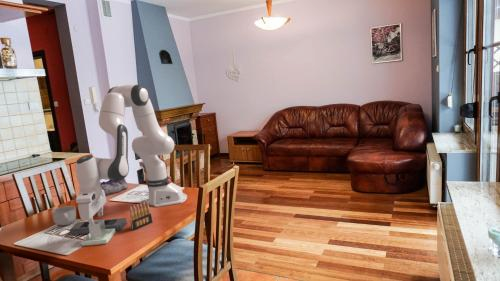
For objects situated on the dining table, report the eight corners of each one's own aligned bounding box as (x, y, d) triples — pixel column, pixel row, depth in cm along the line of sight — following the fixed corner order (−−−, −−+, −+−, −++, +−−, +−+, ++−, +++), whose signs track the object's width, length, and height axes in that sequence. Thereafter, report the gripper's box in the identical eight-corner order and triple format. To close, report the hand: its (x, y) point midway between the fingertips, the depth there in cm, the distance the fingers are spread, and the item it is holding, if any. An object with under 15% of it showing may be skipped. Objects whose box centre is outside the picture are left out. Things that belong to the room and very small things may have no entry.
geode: (122, 186, 232) (122, 172, 230) (130, 191, 224) (129, 177, 222) (92, 193, 218) (91, 179, 215) (99, 199, 210) (98, 185, 208)
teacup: (56, 221, 178) (53, 207, 177) (78, 217, 182) (76, 203, 181) (52, 232, 166) (49, 217, 164) (77, 226, 170) (74, 212, 168)
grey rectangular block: (106, 235, 157) (103, 217, 155) (102, 240, 152) (99, 222, 150) (95, 236, 157) (92, 218, 155) (91, 241, 152) (88, 223, 150)
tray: (115, 232, 160) (114, 228, 160) (106, 243, 149) (106, 239, 149) (92, 234, 160) (91, 230, 159) (81, 246, 149) (81, 242, 148)
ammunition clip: (133, 230, 160) (129, 207, 158) (131, 230, 161) (127, 206, 159) (152, 222, 168) (149, 199, 166) (150, 221, 169) (147, 199, 167)
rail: (126, 223, 169) (126, 217, 169) (121, 230, 161) (120, 224, 161) (78, 227, 168) (77, 222, 168) (71, 235, 161) (70, 229, 160)
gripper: (93, 184, 160) (98, 211, 163) (73, 201, 140) (79, 231, 143) (106, 183, 160) (111, 210, 163) (88, 199, 140) (94, 230, 143)
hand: (96, 220), depth 153 cm, fingers open, 8 cm apart
